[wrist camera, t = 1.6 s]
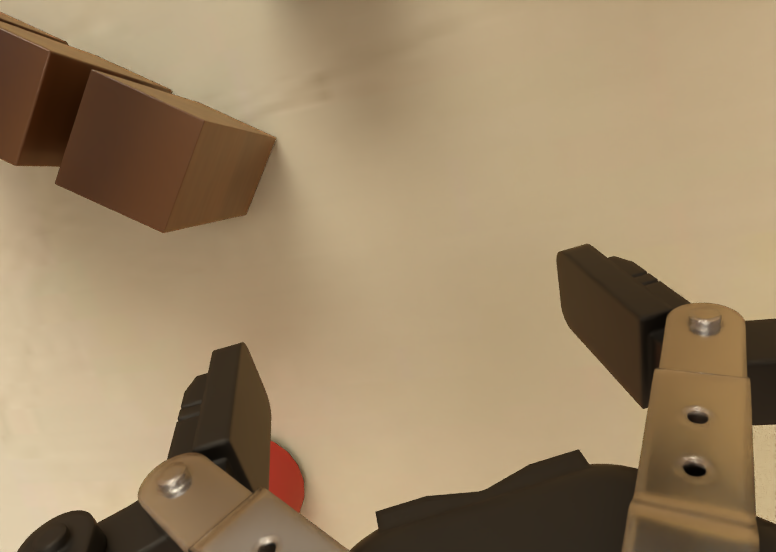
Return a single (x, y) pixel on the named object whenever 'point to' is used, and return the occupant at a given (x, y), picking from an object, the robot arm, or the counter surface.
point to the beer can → (285, 477)
